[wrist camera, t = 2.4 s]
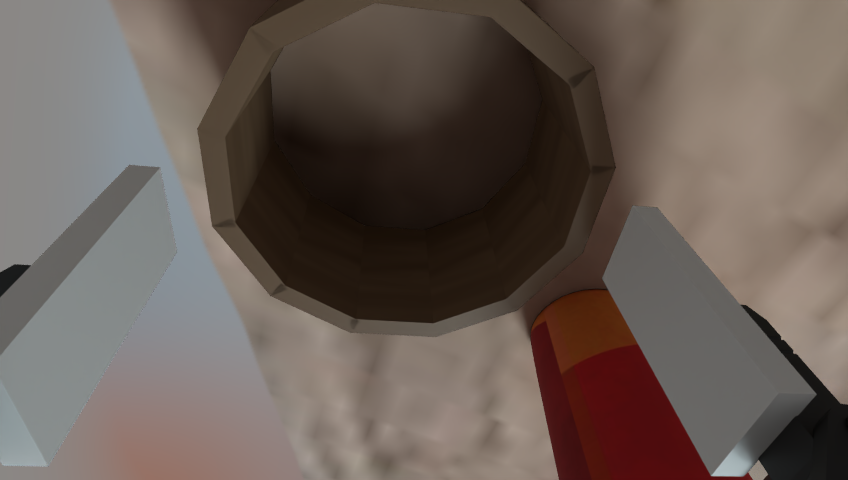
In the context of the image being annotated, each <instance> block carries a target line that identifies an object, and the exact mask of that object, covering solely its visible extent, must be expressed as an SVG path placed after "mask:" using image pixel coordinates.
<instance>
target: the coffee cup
mask: <svg viewBox="0 0 848 480" xmlns="http://www.w3.org/2000/svg"><path fill="white" fill-rule="evenodd" d="M531 345H532V352H533V357H534V362H535V367H536V373H537V377H538V382H539V387H540V392H541V397H542V402H543V406H544V411H545V416H546V421H547V425H548V430H549V435H550V439H551V444H552V449H553V453H554V458H555V463H556V467H557V472H558V477H559V480H753V479H752V478H751V476H750V475H749V473H748V472H747V474H746V475H745V476H744V477H743V476H711V475H710V473H709V472H708V470H707V468H706V466H705V464H704V462H703V461H702V459H701V457H700V455H699V453H698V452H697V450H696V448H695V446H694V444H693V443H692V441H691V439H690V437H689V435H688V433H687V432H686V430H685V428H684V426H683V424H682V423H681V421H680V419H679V417H678V415H677V414H676V412H675V410H674V408H673V406H672V404H671V403H670V401H669V399H668V397H667V395H666V394H665V392H664V390H663V388H662V386H661V385H660V383H659V381H658V379H657V377H656V375H655V374H654V372H653V370H652V368H651V366H650V365H649V363H648V361H647V359H646V357H645V356H644V354H643V352H642V350H641V348H640V346H639V345H638V343H637V341H636V339H635V337H634V336H633V334H632V332H631V330H630V328H629V327H628V325H627V323H626V321H625V319H624V317H623V316H622V314H621V312H620V310H619V308H618V307H617V305H616V303H615V301H614V299H613V298H612V296H611V294H610V292H609V290H602V289H590V290H583V291H578V292H574V293H571V294H568V295H566V296H563V297H561V298H559V299H557V300H556V301H554V302H552V303H551V304H550V305H548V306H547V307H546V308H545V309H544V310H543V311H542V312H541V313H540V314H539V315H538V317H537V318H536V320H535V321H534V323H533V326H532V329H531Z"/></svg>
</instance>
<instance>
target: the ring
mask: <svg viewBox="0 0 848 480" xmlns="http://www.w3.org/2000/svg"><path fill="white" fill-rule="evenodd" d="M373 3H381V4H389V5H397V6H405V7H413V8H421V9H429V10H437V11H445V12H453V13H461V14H470V15H478V16H486V17H491V18H492V19H493V20H494V21H496V22H497V23H498V24H499V25H500V26H501V27H503V28H504V29H505V30H506V31H507V32H508V33H510V34H511V35H512V36H513V37H514V38H515V39H517V40H518V41H519V42H520V43H521V44H522V45H524V46H525V47H526V48H527V49H528V51H529V55H530V58H531V62H532V65H533V69H534V72H535V75H536V79H537V82H538V86H539V89H540V93H541V96H542V103H541V107H540V111H539V114H538V118H537V122H536V126H535V129H534V133H533V137H532V141H531V144H530V148H529V152H528V155H527V159H526V163H525V164H524V165H523V166H522V168H521V169H520V170H519V171H518V172H517V173H516V174H515V175H514V176H513V177H512V178H511V179H510V180H509V181H508V182H507V183H506V184H505V186H504V187H503V188H502V189H501V190H500V191H499V192H498V193H497V194H496V195H495V196H494V197H493V198H492V199H491V200H490V201H489V202H488V204H487V205H486V206H485V207H484V208H483V209H481V210H478V211H475V212H473V213H470V214H467V215H465V216H462V217H459V218H457V219H454V220H451V221H449V222H446V223H444V224H441V225H438V226H436V227H433V228H430V229H428V230H415V229H401V228H388V227H375V226H364V225H362V224H361V223H359V222H357V221H355V220H354V219H352V218H350V217H348V216H347V215H345V214H343V213H341V212H339V211H338V210H336V209H334V208H332V207H331V206H329V205H327V204H325V203H324V202H322V201H320V200H318V199H316V198H315V197H313V196H311V195H310V194H309V192H308V191H307V189H306V188H305V186H304V185H303V183H302V182H301V180H300V179H299V177H298V176H297V174H296V173H295V171H294V170H293V168H292V166H291V165H290V163H289V162H288V160H287V159H286V157H285V156H284V154H283V153H282V151H281V150H280V148H279V147H278V145H277V144H276V142H275V141H274V126H273V109H272V91H271V74H270V70H271V68H272V67H273V65H274V63H275V61H276V60H277V58H278V56H279V54H280V53H281V51H282V49H283V47H284V46H286V45H288V44H290V43H292V42H294V41H297V40H299V39H301V38H303V37H305V36H307V35H309V34H311V33H313V32H315V31H317V30H319V29H321V28H323V27H325V26H328V25H330V24H332V23H334V22H336V21H338V20H340V19H342V18H344V17H346V16H348V15H350V14H352V13H354V12H356V11H359V10H361V9H363V8H365V7H367V6H369V5H371V4H373ZM197 129H198V136H199V142H200V149H201V156H202V162H203V169H204V175H205V182H206V188H207V195H208V201H209V208H210V214H211V221H212V226H213V228H214V229H215V230H216V231H217V232H218V234H219V235H220V236H221V237H222V238H223V240H224V241H225V242H226V243H227V244H228V245H229V247H230V248H231V249H232V250H233V251H234V253H235V254H236V255H237V256H238V257H239V259H240V260H241V261H242V262H243V263H244V265H245V266H246V267H247V268H248V269H249V271H250V272H251V273H252V274H253V275H254V277H255V278H256V279H257V280H258V281H259V283H260V284H261V285H262V286H263V287H264V289H265V290H266V291H267V292H268V293H269V295H270V296H272V297H274V298H276V299H278V300H281V301H283V302H285V303H287V304H289V305H291V306H294V307H296V308H298V309H300V310H302V311H304V312H307V313H309V314H311V315H313V316H315V317H317V318H320V319H322V320H324V321H326V322H328V323H330V324H333V325H335V326H337V327H339V328H341V329H343V330H346V331H348V332H350V333H368V334H388V335H407V336H427V337H437V336H440V335H443V334H446V333H449V332H452V331H455V330H459V329H462V328H465V327H468V326H471V325H474V324H477V323H480V322H483V321H486V320H489V319H492V318H495V317H498V316H501V315H504V314H507V313H510V312H513V311H516V310H518V309H519V308H520V307H521V306H523V305H524V304H525V303H526V302H527V301H528V300H529V299H531V298H532V297H533V296H534V295H535V294H536V293H537V292H539V291H540V290H541V289H542V288H543V287H544V286H545V285H547V284H548V283H549V282H550V281H551V280H552V279H553V278H554V277H556V276H557V275H558V274H559V273H560V272H561V271H562V270H564V269H565V268H566V267H567V266H568V265H569V264H570V263H572V262H573V261H574V260H575V259H576V258H577V257H578V256H580V255H581V254H582V253H583V251H584V248H585V245H586V243H587V240H588V238H589V235H590V232H591V230H592V227H593V225H594V222H595V220H596V217H597V214H598V212H599V209H600V207H601V204H602V201H603V199H604V196H605V194H606V191H607V189H608V186H609V183H610V181H611V178H612V176H613V173H614V170H615V168H616V167H615V162H614V158H613V153H612V148H611V144H610V139H609V134H608V130H607V125H606V120H605V116H604V111H603V106H602V102H601V97H600V92H599V88H598V83H597V78H596V74H595V69H594V67H593V66H592V65H591V64H590V63H589V62H588V61H587V60H586V59H585V58H584V57H582V56H581V55H580V54H579V53H578V52H577V51H576V50H575V49H574V48H573V47H572V46H571V45H569V44H568V43H567V42H566V41H565V40H564V39H563V38H562V37H561V36H560V35H559V34H558V33H556V32H555V31H554V30H553V29H552V28H551V27H550V26H549V25H548V24H547V23H546V22H545V21H543V20H542V19H541V18H540V17H539V16H538V15H537V14H536V13H535V12H533V11H532V10H531V9H530V8H529V7H528V6H527V5H526V4H525V3H524V2H522V1H521V0H278V1H277V2H275V3H274V4H273V5H272V6H271V7H270V8H269V9H268V10H267V11H266V12H265V13H264V14H263V15H262V16H261V17H260V18H259V19H258V20H257V21H256V22H255V23H254V24H253V25H252V26H251V27H250V28H249V30H248V32H247V34H246V36H245V38H244V40H243V42H242V44H241V46H240V48H239V50H238V51H237V53H236V55H235V57H234V59H233V61H232V63H231V65H230V67H229V69H228V71H227V73H226V75H225V77H224V78H223V80H222V82H221V84H220V86H219V88H218V90H217V92H216V94H215V96H214V98H213V100H212V102H211V104H210V105H209V107H208V109H207V111H206V113H205V115H204V117H203V119H202V121H201V123H200V125H199V127H198V128H197Z"/></svg>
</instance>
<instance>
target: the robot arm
mask: <svg viewBox="0 0 848 480" xmlns="http://www.w3.org/2000/svg"><path fill="white" fill-rule="evenodd" d="M176 253H177V249H176V244H175V239H174V234H173V229H172V224H171V219H170V214H169V210H168V204H167V199H166V194H165V189H164V184H163V179H162V174H161V169H160V167H148V166H135V165H129V166H128V167H127V168H126V169H125V170H124V171H123V172H122V173H121V174H120V175H119V176H118V177H117V178H116V179H115V180H114V181H113V182H112V183H111V184H110V185H109V186H108V187H107V188H106V189H105V190H104V191H103V192H102V193H101V194H100V196H98V198H97V199H96V200H95V201H94V202H93V203H92V204H91V205H90V206H89V207H88V208H87V209H86V210H85V211H84V212H83V213H82V214H81V215H80V216H79V217H78V218H77V219H76V220H75V221H74V222H73V223H72V224H71V225H70V226H69V227H68V228H67V229H66V230H65V231H64V232H63V234H61V236H60V237H59V238H58V239H57V240H56V241H55V242H54V243H53V244H52V245H51V246H50V247H49V248H48V249H47V250H46V251H45V252H44V253H43V254H42V255H41V256H40V257H39V258H38V259H37V260H36V261H35V262H34V263H33V264H32V265H13V266H11V267H9V268H7V269H6V270H4V271H2V272H0V462H1V463H2V465H3V466H49V464H50V463H51V461H52V460H53V458H54V456H55V455H56V453H57V451H58V449H59V448H60V446H61V445H62V443H63V441H64V439H65V438H66V436H67V435H68V433H69V431H70V430H71V428H72V426H73V425H74V423H75V421H76V420H77V418H78V416H79V415H80V413H81V411H82V410H83V408H84V406H85V404H86V403H87V401H88V400H89V398H90V396H91V395H92V393H93V391H94V390H95V388H96V386H97V385H98V383H99V381H100V380H101V378H102V376H103V374H104V373H105V371H106V370H107V368H108V366H109V365H110V363H111V361H112V360H113V358H114V356H115V355H116V353H117V351H118V350H119V348H120V346H121V344H122V343H123V341H124V340H125V338H126V336H127V335H128V333H129V331H130V330H131V328H132V326H133V325H134V323H135V321H136V320H137V318H138V316H139V315H140V313H141V311H142V310H143V308H144V306H145V305H146V303H147V301H148V300H149V298H150V296H151V295H152V293H153V291H154V290H155V288H156V286H157V285H158V283H159V281H160V280H161V278H162V276H163V275H164V273H165V271H166V270H167V268H168V266H169V265H170V263H171V261H172V260H173V258H174V256H175V255H176ZM602 279H603V281H604V283H605V285H606V287H607V288H608V290H609V292H610V294H611V296H612V298H613V299H614V301H615V303H616V305H617V307H618V308H619V310H620V312H621V314H622V316H623V317H624V319H625V321H626V323H627V325H628V327H629V328H630V330H631V332H632V334H633V336H634V337H635V339H636V341H637V343H638V345H639V346H640V348H641V350H642V352H643V354H644V356H645V357H646V359H647V361H648V363H649V365H650V366H651V368H652V370H653V372H654V374H655V375H656V377H657V379H658V381H659V383H660V385H661V386H662V388H663V390H664V392H665V394H666V395H667V397H668V399H669V401H670V403H671V404H672V406H673V408H674V410H675V412H676V414H677V415H678V417H679V419H680V421H681V423H682V424H683V426H684V428H685V430H686V432H687V433H688V435H689V437H690V439H691V441H692V443H693V444H694V446H695V448H696V450H697V452H698V453H699V455H700V457H701V459H702V461H703V462H704V464H705V466H706V468H707V470H708V472H709V473H710V475H711V476H743V477H744V476H745V475H746V474H747V472H748V471H749V470H750V469H751V468H752V467H753V466H754V465H755V463H756V462H757V461H758V460H759V461H760V462H761V464H762V465H763V467H764V468H765V470H766V471H767V473H768V475H767V476H766V478H765V479H764V480H848V405H845V404H840V403H839V402H838V400H837V399H836V398H835V397H834V396H833V395H832V394H831V392H830V391H829V390H828V389H827V388H826V387H825V386H824V385H823V383H822V382H821V381H820V380H819V379H818V378H817V377H816V376H815V374H814V373H813V372H812V371H811V370H810V369H809V368H808V366H807V365H806V364H805V363H804V362H803V361H802V360H801V359H800V357H799V356H798V355H797V354H793V350H792V348H791V347H790V346H789V345H788V344H787V343H786V342H785V341H784V340H781V336H780V335H779V334H778V333H777V331H776V330H775V329H774V328H773V327H772V326H771V325H770V324H769V322H768V321H767V320H766V319H764V318H763V317H761V316H760V315H759V314H757V313H756V312H755V311H753V310H752V309H751V308H749V307H748V306H746V305H740V304H739V303H738V302H737V300H736V299H735V298H734V297H733V296H732V295H731V293H730V292H729V291H728V290H727V289H726V288H725V286H724V285H723V284H722V283H721V282H720V280H719V279H718V278H717V277H716V276H715V275H714V273H713V272H712V271H711V270H710V269H709V268H708V266H707V265H706V264H705V263H704V262H703V261H702V259H701V258H700V257H699V256H698V255H697V254H696V252H695V251H694V250H693V249H692V248H691V247H690V245H689V244H688V243H687V242H686V241H685V240H684V238H683V237H682V236H681V235H680V234H679V233H678V231H677V230H676V229H675V228H674V227H673V225H672V224H671V223H670V222H669V221H668V220H667V218H666V217H665V216H664V215H663V214H662V213H661V211H660V210H659V209H658V208H657V207H645V206H632V208H631V210H630V213H629V215H628V218H627V220H626V222H625V225H624V227H623V230H622V232H621V234H620V237H619V239H618V241H617V244H616V246H615V249H614V251H613V253H612V256H611V258H610V261H609V263H608V265H607V268H606V270H605V273H604V275H603V277H602Z"/></svg>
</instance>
